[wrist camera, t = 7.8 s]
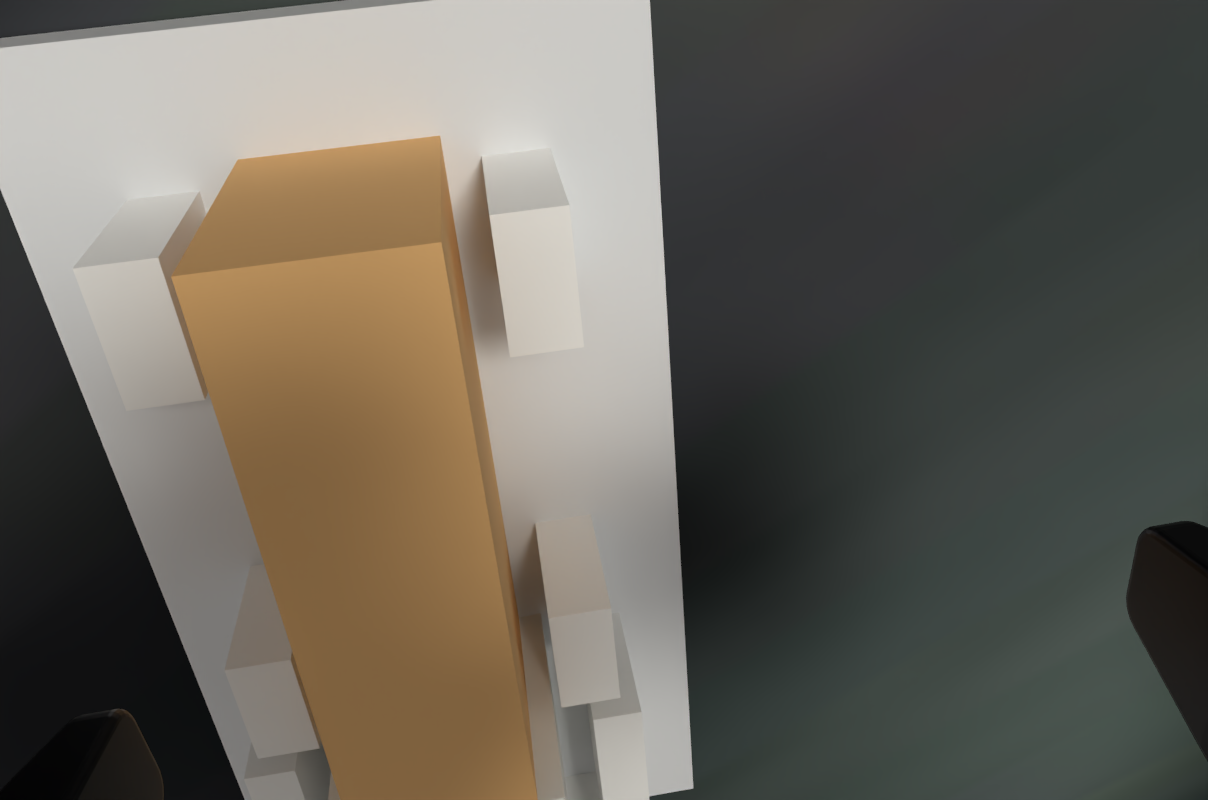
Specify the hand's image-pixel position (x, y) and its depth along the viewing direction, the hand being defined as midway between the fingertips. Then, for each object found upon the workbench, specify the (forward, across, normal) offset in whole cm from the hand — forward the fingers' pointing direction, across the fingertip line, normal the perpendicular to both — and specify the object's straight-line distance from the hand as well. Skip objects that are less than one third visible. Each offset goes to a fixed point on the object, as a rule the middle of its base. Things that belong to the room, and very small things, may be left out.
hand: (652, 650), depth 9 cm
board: (+12, +4, +6) cm, 14 cm away
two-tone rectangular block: (+11, +4, +6) cm, 13 cm away
